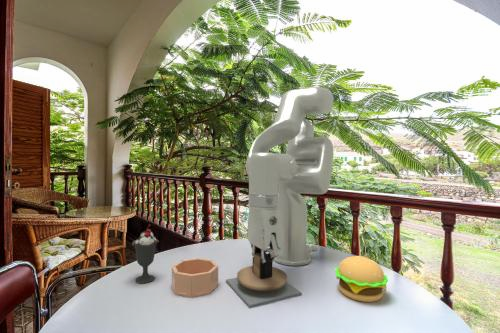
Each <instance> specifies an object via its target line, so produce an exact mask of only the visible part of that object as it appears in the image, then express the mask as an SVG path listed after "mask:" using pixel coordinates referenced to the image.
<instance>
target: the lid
mask: <svg viewBox="0 0 500 333" xmlns="http://www.w3.org/2000/svg"><path fill="white" fill-rule="evenodd" d="M267 254H268V252H266V255H267ZM253 257H254V263H253V262H252V265H249V266H246V267H244V268H242V269H240V270H239V271H237V273H236V275H237V276H236V278H237V281H238V282H239V284H241V285H242V286H244V287H246V288H249V289H253V290H262V291H266V290H275V289H278V288H281V287H283V286H284V285H285V284H286V282H288V281H287V280H288V279H287V277H288V276H287V274H286V272H284V271H283V270H281V269H280V268H277V267H274V266H272V277H270V278H265V279H261V278H260V262H262V256H261V253H256V254H254V256H253ZM252 267H253V271H252Z"/></svg>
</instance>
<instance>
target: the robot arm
mask: <svg viewBox="0 0 500 333" xmlns="http://www.w3.org/2000/svg"><path fill="white" fill-rule="evenodd" d="M334 102H335V101H334V96H333V92H332V91H331V90H330V89H329V88H325V87H321V86H320V87H319V86H313V87H312V86H311V87H304V88H295V89H291V90H288V91H286V92H285V93H283V95H282V97H281V99H280V102H279V105H278V107H277V112H276V114H275V118H274V122H273V123H272V124H271V125H270V126H268V127H267V128H265V129H264V130H263V131H262V132H261V133H260V134H259V135H258V136H257V137H256V138H255V139H254V140H253V141H252V143H251V145H250V148H249V151H248V154H247V157H246V162H245V171H246V172H245V173H246V174H247V176H248V177H249V178H248V208H249V210H248V218H247V219H248V220H247V240H248V243H249V244H250V247H251V256H252V264H253V263H254V254H256V253H261V256H262V262H260V278H261V279H265V278H270V277H272V267H273V262H274V261H275V262H277V263H279V264H280V265H281V264H282V265H284V266H291V267H292V266H294V267H296V266H297V267H298V266H299V267H300V266H305V265H308V264H310V263H311V261H312V256H311V255H310V253H311V252H312V253H314V252H317V251H318V250H319V248H318V245H311V246H310V244H307V237H308V236H307V234H308V232H307V230H308V228H307V227H308V207H307V203H306V201H305V200H304V198H303V197H302V195H301V194H304V195H305V194H308V195H324V194H327V192H328V190H329V188H330V186H331V185H330V184H331V178H332V177H331V176H332V169H333V162H334V159H333V158H334V146H333V143H332V140H331V139H330V138H328V137H326V136H325V137H324V136H315V137H314V135H315V128H314V125H312V123H311V122H310V121H309V120H308V119H307V118H305V116H313V115H314V116H315V115H323V114H324V115H327V114H329V113H330V112H332V110H333V108H334ZM285 143H287V145H286V149H285V150H286V152H285V153H274V152H269V151H270V150H271V149H273V148H275V147H278V146H280V145H283V144H285ZM266 253H267V255H266ZM252 271H253V267H252Z"/></svg>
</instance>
